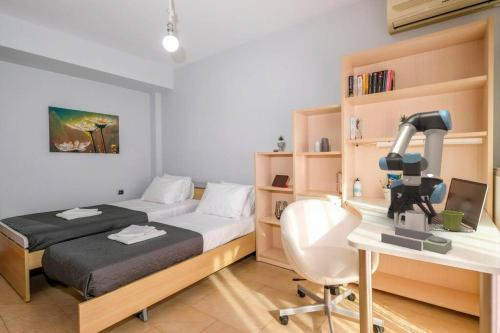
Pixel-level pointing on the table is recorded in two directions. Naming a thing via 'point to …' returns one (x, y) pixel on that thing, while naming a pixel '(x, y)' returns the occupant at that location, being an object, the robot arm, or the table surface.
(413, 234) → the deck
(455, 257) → the table surface
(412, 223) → the cup
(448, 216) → the plant pot
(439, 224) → the table surface
